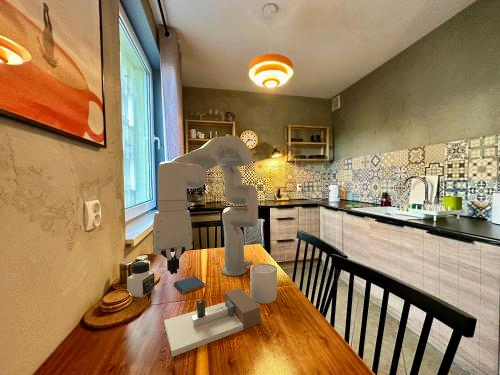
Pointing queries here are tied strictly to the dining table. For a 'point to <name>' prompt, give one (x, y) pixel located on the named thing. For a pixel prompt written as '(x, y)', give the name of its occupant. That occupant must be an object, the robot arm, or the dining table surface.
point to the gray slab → (212, 323)
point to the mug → (263, 283)
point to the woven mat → (188, 284)
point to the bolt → (208, 313)
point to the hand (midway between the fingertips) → (173, 272)
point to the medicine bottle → (140, 280)
